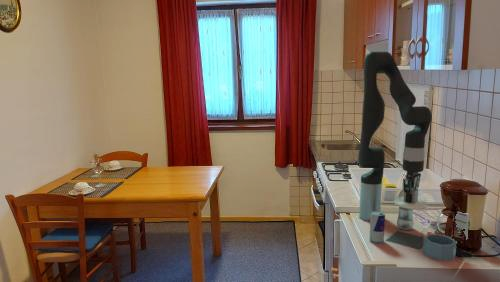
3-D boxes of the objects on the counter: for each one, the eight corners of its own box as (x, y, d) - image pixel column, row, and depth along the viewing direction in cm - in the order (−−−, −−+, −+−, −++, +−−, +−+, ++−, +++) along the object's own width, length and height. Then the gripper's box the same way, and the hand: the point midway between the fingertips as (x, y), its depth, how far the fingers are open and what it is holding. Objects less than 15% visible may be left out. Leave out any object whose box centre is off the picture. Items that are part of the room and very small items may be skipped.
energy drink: (384, 245, 147) (386, 216, 146) (370, 244, 149) (371, 215, 147) (382, 240, 153) (384, 211, 151) (368, 239, 154) (370, 210, 152)
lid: (400, 197, 158) (401, 183, 157) (431, 203, 151) (432, 188, 150) (389, 204, 149) (390, 190, 148) (421, 211, 142) (422, 196, 141)
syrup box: (465, 251, 143) (468, 213, 141) (451, 245, 148) (454, 209, 146) (475, 247, 145) (478, 211, 143) (460, 242, 151) (463, 206, 148)
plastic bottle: (413, 233, 160) (416, 186, 157) (396, 231, 162) (399, 185, 159) (412, 227, 166) (415, 182, 163) (395, 225, 168) (398, 181, 165)
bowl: (428, 246, 146) (429, 232, 146) (457, 254, 140) (458, 239, 139) (420, 255, 139) (421, 240, 138) (450, 264, 132) (451, 248, 132)
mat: (397, 231, 161) (397, 230, 161) (430, 239, 153) (430, 238, 153) (385, 241, 152) (385, 240, 152) (419, 250, 143) (419, 249, 143)
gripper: (409, 154, 155) (406, 194, 158) (397, 160, 144) (394, 203, 147) (429, 156, 150) (426, 198, 153) (417, 162, 139) (414, 207, 142)
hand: (410, 200), depth 150 cm, fingers closed on lid, 4 cm apart
